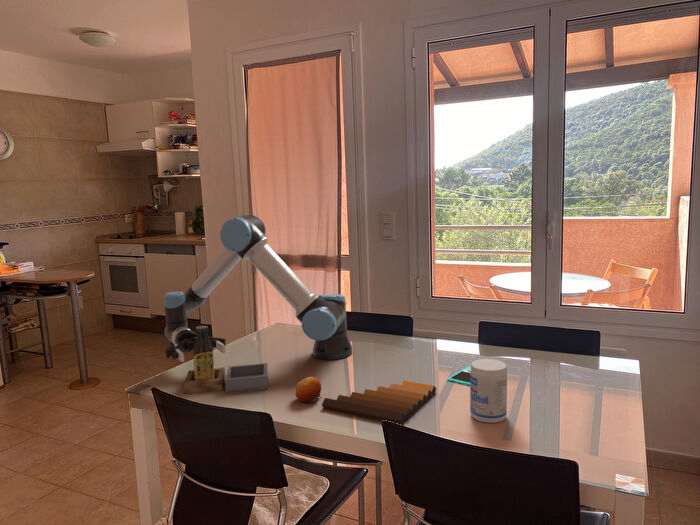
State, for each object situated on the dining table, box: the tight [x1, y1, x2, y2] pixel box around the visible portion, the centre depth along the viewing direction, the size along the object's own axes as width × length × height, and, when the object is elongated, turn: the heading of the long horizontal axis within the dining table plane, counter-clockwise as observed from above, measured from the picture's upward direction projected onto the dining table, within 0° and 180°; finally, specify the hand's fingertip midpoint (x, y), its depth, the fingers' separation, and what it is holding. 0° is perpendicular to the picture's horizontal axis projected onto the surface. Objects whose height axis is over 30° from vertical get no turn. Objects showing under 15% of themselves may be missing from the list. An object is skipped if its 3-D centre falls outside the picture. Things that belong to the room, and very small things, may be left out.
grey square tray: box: [224, 362, 269, 394], centre depth 175 cm, size 13×13×4 cm
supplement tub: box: [469, 358, 508, 424], centre depth 142 cm, size 10×10×15 cm
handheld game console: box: [446, 365, 471, 387], centre depth 173 cm, size 10×16×1 cm, turn 139°
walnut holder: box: [182, 366, 226, 395], centre depth 176 cm, size 12×12×4 cm
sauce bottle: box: [193, 325, 215, 380], centre depth 175 cm, size 7×6×20 cm
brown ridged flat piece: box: [321, 380, 437, 426], centre depth 157 cm, size 25×3×25 cm
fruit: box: [295, 376, 322, 404], centre depth 160 cm, size 8×8×8 cm
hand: (203, 353), depth 173 cm, fingers open, 13 cm apart
